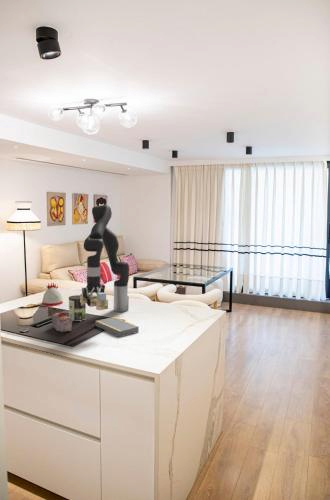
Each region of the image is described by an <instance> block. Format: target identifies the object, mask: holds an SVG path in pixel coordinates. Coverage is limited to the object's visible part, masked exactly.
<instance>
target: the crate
mask: <svg viewBox="0 0 330 500" xmlns="http://www.w3.org/2000/svg"><path fill="white" fill-rule="evenodd" d="M96 296H97V300H100V301H103V300H106V299H107V293H105V292H104V293H103V292H102V293H97V295H96Z"/></svg>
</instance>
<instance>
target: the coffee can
mask: <svg viewBox="0 0 330 500" xmlns="http://www.w3.org/2000/svg"><path fill="white" fill-rule="evenodd" d="M86 306H87V303H85V304H82V303H80V294H77V295H76V294H75V295H71V296H69V297H68V317H70V318H72V322H73V321H80V322H83V321H82V320H84V321H86V319H87V317H86V315H87V314H86V313H87V312H86V311H87V309H86V308H87V307H86Z"/></svg>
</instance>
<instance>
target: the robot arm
mask: <svg viewBox="0 0 330 500" xmlns="http://www.w3.org/2000/svg"><path fill="white" fill-rule="evenodd" d="M91 214H92V217H93V220H94V221H95V224H94V225H93V226H92V228H91V229H90V234H89V235H87V237H86V239H85V240H84V241H83V249H84V251H85V252H93V253H95V254H94V255H89V256H87V259H86V261H87V262H86V286H85V287H81V294H82V293H83V298H86V299H87V303H86V306H87V307H90V298H91V295H92V294H93V295H94V294H95V295H96V296H97V293H102V292H103V293H105V291H106V284H101V283H102V282H101V276H102V275H101V257H102V256H101V255H102V253H103V248H104V249H105V251H106V255H107V257H108V261H109V265H110V270H111V272H112V275H115V276H119V279H116V280H114V281H113V312H116V313H118V312H119V313H123V312H124V313H125V312H127V311H129V300H130V297H129V295H128V292H129V291H128V286H129V285H128V284H129V279H130V278H129V277H130V265H129V263H128V262H126V261H119V259H118V256H117V254H118V251H119V247H120V246H119V245H120V244H119V243H120V242H119V240H118V237H117V234H115V232H113V231H112V230H111V229H110V228H108V224H109V222H110V220H111V218H112V214H113V213H112V208H111V206H110V205H109V204H102V205H96V206H93V207H92V208H91ZM87 289H88V292H86V291H87Z"/></svg>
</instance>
